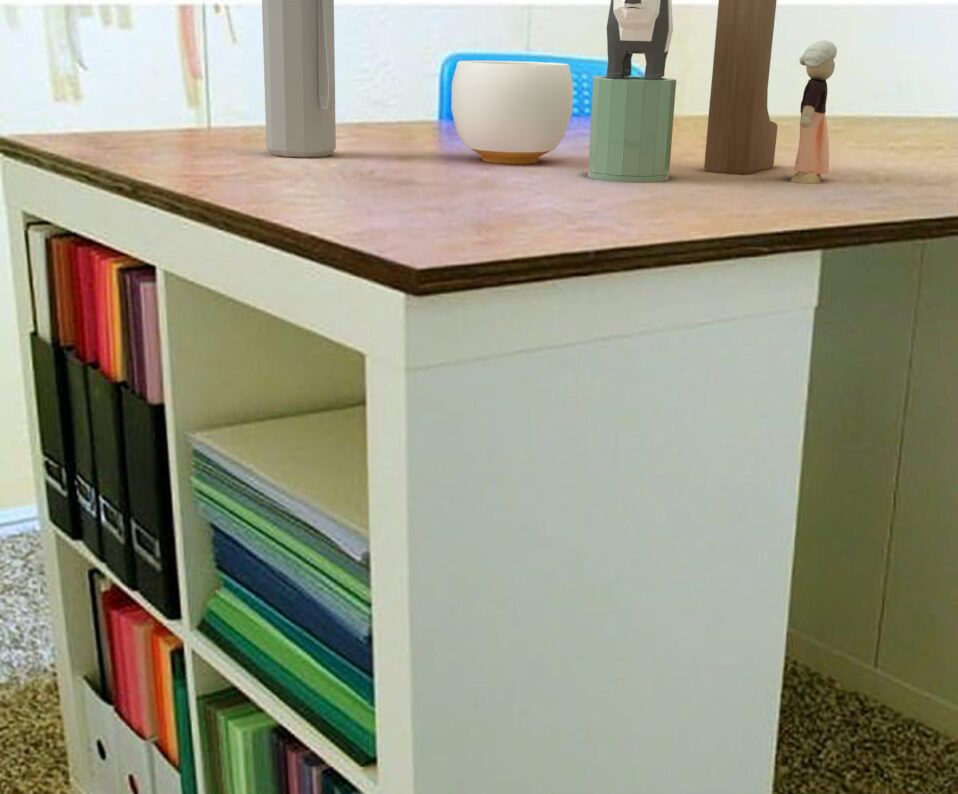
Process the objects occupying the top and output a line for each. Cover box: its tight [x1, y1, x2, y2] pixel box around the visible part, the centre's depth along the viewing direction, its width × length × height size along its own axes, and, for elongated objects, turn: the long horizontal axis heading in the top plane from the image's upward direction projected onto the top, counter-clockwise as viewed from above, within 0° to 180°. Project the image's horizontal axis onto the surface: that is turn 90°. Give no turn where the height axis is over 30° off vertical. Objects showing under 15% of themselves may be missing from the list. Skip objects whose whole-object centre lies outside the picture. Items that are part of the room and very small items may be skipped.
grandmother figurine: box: [790, 39, 838, 185], centre depth 122 cm, size 8×4×13 cm, turn 171°
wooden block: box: [703, 0, 779, 176], centre depth 128 cm, size 9×4×18 cm, turn 150°
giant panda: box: [606, 0, 674, 80], centre depth 117 cm, size 15×6×10 cm, turn 169°
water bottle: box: [261, 0, 337, 159], centre depth 129 cm, size 9×8×25 cm
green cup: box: [587, 75, 677, 183], centre depth 121 cm, size 8×8×9 cm
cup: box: [450, 60, 574, 165], centre depth 132 cm, size 12×12×10 cm
